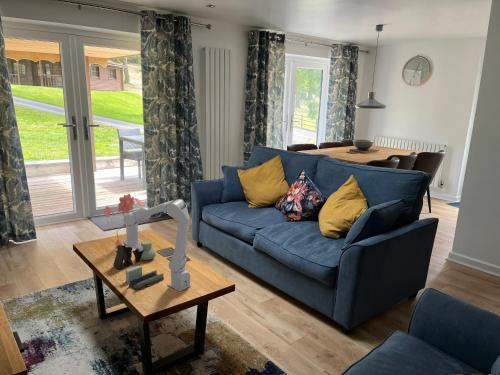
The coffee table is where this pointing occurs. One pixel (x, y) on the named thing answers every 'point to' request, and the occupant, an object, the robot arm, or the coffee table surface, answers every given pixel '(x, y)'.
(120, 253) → the phone stand
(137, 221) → the robot arm
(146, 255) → the air freshener
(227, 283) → the coffee table surface
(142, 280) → the floor track
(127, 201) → the figurine
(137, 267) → the door panel
